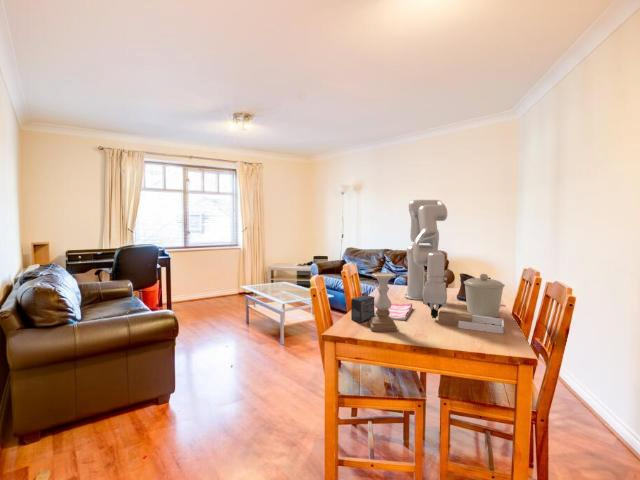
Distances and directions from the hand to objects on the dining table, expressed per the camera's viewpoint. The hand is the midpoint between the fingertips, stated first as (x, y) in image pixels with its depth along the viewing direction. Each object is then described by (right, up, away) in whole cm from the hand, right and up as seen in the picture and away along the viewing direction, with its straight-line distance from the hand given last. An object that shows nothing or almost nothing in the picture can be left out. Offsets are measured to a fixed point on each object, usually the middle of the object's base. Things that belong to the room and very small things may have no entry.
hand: (434, 317), depth 166 cm
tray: (+18, -2, -9) cm, 20 cm away
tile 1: (+5, -2, -2) cm, 6 cm away
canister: (+26, -1, +6) cm, 26 cm away
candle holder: (-26, -2, -10) cm, 28 cm away
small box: (-33, -1, +2) cm, 34 cm away
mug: (+34, +1, +38) cm, 51 cm away
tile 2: (+11, -2, -5) cm, 13 cm away
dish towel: (-17, -1, +13) cm, 22 cm away
